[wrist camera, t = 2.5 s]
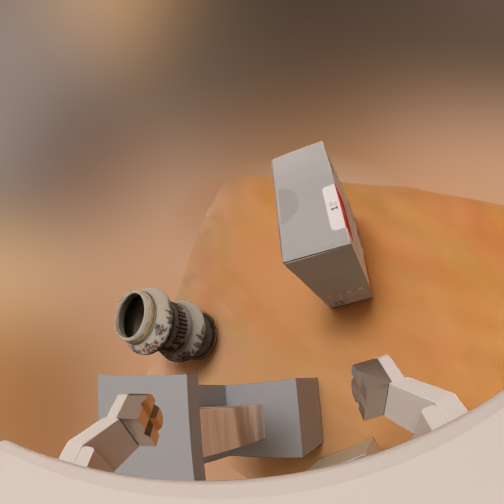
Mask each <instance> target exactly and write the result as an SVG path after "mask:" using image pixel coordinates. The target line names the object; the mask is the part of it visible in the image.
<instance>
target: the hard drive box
mask: <svg viewBox="0 0 504 504" xmlns="http://www.w3.org/2000/svg"><path fill="white" fill-rule="evenodd" d="M271 164H272V174H273V182H274V191H275V199H276V208H277V218H278V228H279V239H280V248H281V256H282V262H283V263H284V265H285V266H286V267H287V268H288V269H290V271H292V272H293V273H294V274H295V275H296V276H297V277H298V278H300V279H301V280H302V281H303V282H304V283H305V284H306V285H307V286H308V287H309V288H310V289H311V290H312V291H313V292H314V293H315V294H316V295H317V296H318V297H319V298H321V299H322V300H323V301H324V302H325V303H326V304H327V305H328V306H329V307H331V308H332V307H336V306H341V305H345V304H349V303H353V302H357V301H361V300H365V299H369V298H372V297H373V294H372V289H371V284H370V279H369V274H368V269H367V265H366V260H365V256H364V251H363V247H362V243H361V239H360V235H359V231H358V227H357V224H356V220H355V217H354V214H353V211H352V209H351V206H350V204H349V201H348V199H347V197H346V194H345V192H344V189H343V187H342V185H341V182H340V180H339V178H338V176H337V173H336V171H335V169H334V167H333V164H332V162H331V160H330V158H329V156H328V153H327V151H326V149H325V147H324V145H323V142H322V141H321V142H318V143H315V144H312V145H309V146H306V147H304V148H301V149H298V150H296V151H293V152H290V153H288V154H285V155H283V156H280V157H278V158H275V159H273V160H272V162H271Z"/></svg>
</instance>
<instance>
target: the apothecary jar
mask: <svg viewBox="0 0 504 504" xmlns="http://www.w3.org/2000/svg"><path fill="white" fill-rule="evenodd" d="M213 322H214V320H213V319H212V318H211V317H210V316H209V315H208V314H205V313H202V312H201V310H200V309H199V308H198V307H197V306H196V305H195V304H194V303H192V302H190V301H187V300H178V301H174V302H171V301H170V299H169V298H168V296H167V295H166V294H165V293H164V292H163V291H162V290H160V289H158V288H154V287H148V288H144V289H142V290H140V291H136V290H135V291H130V292H128V293H127V294H126V295H125V296H124V297H123V298H122V299H121V301H120V302H119V304H118V306H117V309H116V314H115V328H116V331H117V334H118V335H119V336H120V338H122V339H123V340H125V341H126V343H127V345H128V346H129V347H130V348H131V349H132V350H133V351H134V352H136V353H138V354H142V355H149V354H153V353H155V352H157V351H160V353H161V354H162V355H163V356H164V357H166V358H167V359H169V360H171V361H174V362H183V361H187V360H189V359H195V360H198V359H202V358H204V357H206V356H207V355H208V354H209V353H210V352H211V351H212V350H213V348H214V346H215V343H216V340H217V329H216V328H215V326H214V324H213Z"/></svg>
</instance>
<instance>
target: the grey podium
mask: <svg viewBox="0 0 504 504" xmlns="http://www.w3.org/2000/svg"><path fill="white" fill-rule="evenodd" d="M120 393H125V394H130V393H131V394H151V395H153V397H154V399H155V403H154V404H155V405H156V406H158V407H159V408H160V410H161V411H162V415H163V425H162V428H161V429H159V430H158V431H157V432H158V433H159V439H158V442H157V446H139V447H138V448H137V449H136V450H135V451H134V452H133V453H132V454H131V455H130V456H129V457H128V458H127V459H126V460H125V461H124V462H123V463H122V464H121V465H120V466H119V467H118V468H117V469H116V470H115V472H116V473H119V474H125V475H132V476H140V477H148V478H158V479H171V480H196V481H206V479H205V469H204V463H207V462H211V461H215V460H218V459H221V458H224V457H228V456H245V457H268V458H295V457H304V456H305V455H307V454H308V453H309V452H311V451H312V450H313V449H315V448H316V447H317V446H319V445H320V444H321V443H323V431H322V420H321V410H320V400H319V390H318V381H317V378H295V379H288V380H280V381H272V382H263V383H253V384H241V385H226V386H223V385H198V375H190V374H181V375H145V376H144V375H141V376H140V375H136V376H135V375H134V376H133V375H130V376H129V375H98V408H99V409H98V410H99V420H101V419H102V418H106V417H107V415H108V413H109V411H110V409H111V407H112V405H113V403H114V401H115V399H116V398H117V396H118V395H119V394H120ZM252 404H263V410H264V422H265V434H266V438H265V439H262V440H259V441H256V442H253V443H250V444H247V445H244V446H241V447H238V448H235V449H232V450H228V451H225V452H221V453H218V454H214V455H210V456H206V457H203V447H202V435H201V421H200V407H216V406H229V405H252Z"/></svg>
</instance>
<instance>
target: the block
mask: <svg viewBox="0 0 504 504" xmlns="http://www.w3.org/2000/svg"><path fill="white" fill-rule="evenodd" d="M200 421H201V435H202V447H203V457H206V456H210V455H214V454H218V453H221V452H225V451H228V450H232V449H235V448H238V447H241V446H244V445H247V444H250V443H253V442H256V441H259V440H262V439H265V438H266V434H265V422H264V410H263V404H252V405H229V406H216V407H200Z"/></svg>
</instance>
